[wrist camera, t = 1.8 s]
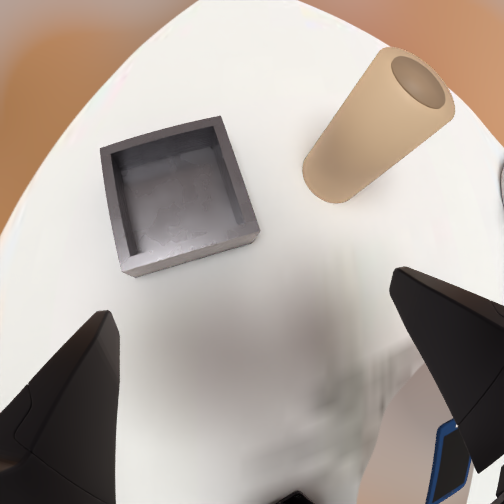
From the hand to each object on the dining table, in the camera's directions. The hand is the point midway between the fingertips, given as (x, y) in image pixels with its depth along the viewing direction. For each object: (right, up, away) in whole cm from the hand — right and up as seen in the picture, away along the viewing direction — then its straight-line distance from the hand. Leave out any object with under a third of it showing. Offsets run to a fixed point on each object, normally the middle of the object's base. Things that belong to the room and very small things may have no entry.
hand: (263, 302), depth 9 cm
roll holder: (-6, +5, +15) cm, 17 cm away
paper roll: (+7, +9, +18) cm, 21 cm away
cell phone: (+24, -24, +15) cm, 38 cm away
